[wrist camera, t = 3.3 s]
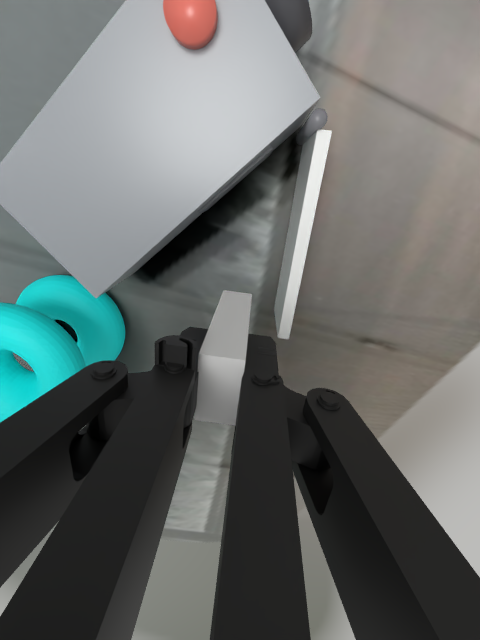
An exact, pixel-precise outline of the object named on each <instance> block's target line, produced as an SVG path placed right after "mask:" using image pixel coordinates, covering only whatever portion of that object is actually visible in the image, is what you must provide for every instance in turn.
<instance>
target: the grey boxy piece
mask: <svg viewBox="0 0 480 640" xmlns="http://www.w3.org/2000/svg"><path fill="white" fill-rule="evenodd" d="M311 34H312V18H311V12H310V7H309V2H308V0H126V1H125V2H124V3H123V5H122V6H121V7H120V8H119V10H118V11H117V12H116V14H115V15H114V16H113V18H112V19H111V20H110V21H109V23H108V24H107V25H106V27H105V28H104V29H103V31H102V32H101V33H100V34H99V36H98V37H97V38H96V40H95V41H94V42H93V44H92V45H91V46H90V47H89V49H88V50H87V51H86V53H85V54H84V55H83V56H82V58H81V59H80V60H79V62H78V63H77V64H76V66H75V67H74V68H73V69H72V71H71V72H70V73H69V75H68V76H67V77H66V79H65V80H64V81H63V82H62V84H61V85H60V86H59V88H58V89H57V90H56V92H55V93H54V94H53V95H52V97H51V98H50V99H49V101H48V102H47V103H46V105H45V106H44V107H43V108H42V110H41V111H40V112H39V114H38V115H37V116H36V118H35V119H34V120H33V121H32V123H31V124H30V125H29V127H28V128H27V129H26V131H25V132H24V133H23V134H22V136H21V137H20V138H19V140H18V141H17V142H16V144H15V145H14V146H13V147H12V149H11V150H10V151H9V153H8V154H7V155H6V156H5V158H4V159H3V160H2V162H1V163H0V205H2V206H3V207H4V208H5V209H6V210H7V211H8V212H9V213H10V214H11V215H12V216H13V217H14V218H15V219H16V220H17V221H18V222H19V223H20V224H21V225H22V226H23V227H24V228H25V229H26V230H27V231H28V232H29V233H30V234H31V235H32V236H33V237H34V238H35V239H36V240H37V241H38V242H39V243H40V244H41V245H42V246H43V247H44V248H45V249H46V250H47V251H48V252H49V253H50V254H51V255H52V256H53V257H54V258H55V259H56V260H57V261H58V262H59V263H60V264H61V265H62V266H63V267H64V268H65V269H66V270H67V271H68V272H69V273H70V274H71V275H72V276H74V277H75V278H76V279H77V280H78V281H79V282H80V283H81V284H82V285H83V286H84V287H85V288H86V289H87V290H88V291H89V292H90V293H91V294H92V295H93V296H94V297H95V298H98V297H99V296H101V295H102V294H104V293H105V292H107V291H108V290H110V289H111V288H113V287H114V286H116V285H117V284H119V283H120V282H122V281H123V280H125V279H126V278H127V277H129V276H130V275H132V274H133V273H135V272H136V271H137V270H138V269H139V268H141V267H142V266H143V265H144V264H145V263H146V262H147V261H149V260H150V259H151V258H152V257H153V256H154V255H155V254H156V253H158V252H159V251H160V250H161V249H162V248H163V247H164V246H166V245H167V244H168V243H169V242H170V241H171V240H172V239H173V238H175V237H176V236H177V235H178V234H179V233H180V232H181V231H183V230H184V229H185V228H186V227H187V226H188V225H189V224H190V223H192V222H193V221H194V220H195V219H196V218H197V217H198V216H200V215H201V214H202V213H203V212H205V211H207V210H208V209H209V208H210V207H212V206H213V205H214V204H215V203H216V202H217V201H218V200H219V199H221V198H222V197H223V196H224V195H225V194H226V193H227V192H229V191H230V190H231V189H232V188H233V187H234V186H235V185H236V184H238V183H239V182H240V181H241V180H242V179H243V178H244V177H246V176H247V175H248V174H249V173H250V172H251V171H252V170H254V169H255V168H256V167H257V166H258V165H259V164H260V163H261V162H263V161H264V160H265V159H266V158H267V157H268V156H269V155H271V153H272V151H273V150H274V149H275V148H277V147H278V146H279V145H280V144H281V143H282V142H283V141H285V140H286V139H287V138H288V137H289V136H290V135H291V134H292V133H294V132H295V131H296V130H297V129H298V128H299V127H300V126H302V124H303V123H304V121H305V120H306V118H307V117H308V115H309V114H310V112H311V111H312V109H313V108H314V106H315V105H316V103H317V102H318V101H319V99H320V96H319V94H318V93H317V91H316V89H315V87H314V86H313V84H312V82H311V80H310V79H309V77H308V75H307V73H306V72H305V70H304V68H303V66H302V65H301V63H300V61H299V59H298V58H297V56H296V54H295V53H296V52H297V51H298V50H299V49H300V48H301V47H302V46H303V45H304V44H305V43H306V42H307V41H308V40H309V39H310V37H311Z"/></svg>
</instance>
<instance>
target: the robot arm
mask: <svg viewBox="0 0 480 640" xmlns="http://www.w3.org/2000/svg"><path fill="white" fill-rule="evenodd" d="M251 300H252V294H249V293H242V292H234V291H226V290H223V293H222V295H221V298H220V301H219V303H218V306H217V308H216V311H215V313H214V316H213V318H212V321H211V324H210V326H209V329H202V328H194V327H189V328H187V329H186V330H184V331H182V333H181V335H180V336H175V335H173V336H166V337H163V338H160V339H158V340H157V341H156V342H155V366H154V367H153V369H152V370H151V371H148V372H141V373H128V369H127V367H126V366H125V364H123V363H121V362H118V361H112V360H107V361H106V360H105V361H100V362H95V363H93V364H90V365H88V366H86V367H85V368H83V369H82V370H80V371H79V372H77V373H76V374H74V375H73V376H71V377H69V378H68V379H66V380H65V381H63V382H62V383H60V384H59V385H57V386H56V387H54V388H53V389H51V390H50V391H48V392H46V393H45V394H43V395H42V396H40V397H39V398H37V399H36V400H34V401H33V402H31V403H30V404H28V405H27V406H25V407H23V408H22V409H20V410H19V411H17V412H16V413H14V414H13V415H11V416H10V417H8V418H7V419H5V420H4V421H2V422H0V587H1V586H2V585H3V584H4V582H5V581H6V580H7V579H8V578H9V577H10V576H11V575H12V573H13V572H14V571H15V570H16V569H17V568H18V567H19V565H20V564H21V563H22V562H23V561H24V560H25V559H26V558H27V556H28V555H29V554H30V553H31V552H32V551H33V549H34V548H35V547H36V546H37V545H38V544H39V543H40V542H41V540H42V539H43V538H44V537H45V536H46V535H47V534H48V532H49V531H50V530H51V529H52V528H53V527H54V526H55V525H56V523H57V522H58V521H59V522H58V524H57V525H56V527H55V528H54V530H53V532H52V533H51V535H50V537H49V538H48V540H47V541H46V543H45V545H44V546H43V548H42V550H41V551H40V553H39V555H38V556H37V558H36V560H35V561H34V563H33V564H32V566H31V568H30V569H29V571H28V573H27V574H26V576H25V577H24V579H23V581H22V582H21V584H20V586H19V587H18V589H17V590H16V592H15V594H14V595H13V597H12V599H11V600H10V602H9V603H8V605H7V607H6V608H5V610H4V612H3V613H2V615H1V616H0V640H131V638H132V634H133V631H134V628H135V624H136V621H137V617H138V614H139V610H140V607H141V603H142V600H143V596H144V593H145V590H146V586H147V583H148V579H149V576H150V572H151V569H152V566H153V562H154V559H155V555H156V552H157V548H158V545H159V541H160V538H161V535H162V531H163V528H164V524H165V521H166V517H167V514H168V511H169V507H170V504H171V500H172V497H173V493H174V490H175V486H176V483H177V480H178V476H179V473H180V469H181V466H182V462H183V459H184V455H185V452H186V449H187V445H188V442H189V438H190V435H191V430H192V419H193V416H194V413H195V416H194V420H196V421H204V422H211V423H218V424H225V425H232V426H235V432H234V439H233V446H232V453H231V454H232V456H231V465H230V473H229V481H228V490H227V498H226V507H225V515H224V524H223V532H222V540H221V549H220V557H219V566H218V574H217V583H216V592H215V599H214V608H213V616H212V625H211V634H210V640H311V639H310V630H309V620H308V612H307V602H306V592H305V584H304V573H303V564H302V555H301V545H300V536H299V526H298V517H297V508H296V498H295V489H294V479H293V472H294V475H295V477H296V480H297V483H298V486H299V488H300V491H301V494H302V496H303V499H304V502H305V504H306V507H307V510H308V512H309V515H310V518H311V520H312V523H313V526H314V528H315V531H316V534H317V537H318V539H319V542H320V545H321V547H322V549H323V553H324V555H325V558H326V561H327V563H328V566H329V569H330V571H331V574H332V577H333V579H334V582H335V585H336V587H337V590H338V593H339V596H340V598H341V600H342V604H343V606H344V609H345V612H346V614H347V617H348V620H349V622H350V625H351V628H352V630H353V633H354V636H355V638H356V640H480V577H479V576H478V575H477V573H476V572H475V571H474V570H473V568H472V567H471V566H470V564H469V563H468V561H467V560H466V559H465V557H464V556H463V555H462V553H461V552H460V551H459V549H458V548H457V547H456V545H455V544H454V543H453V541H452V540H451V538H450V537H449V536H448V534H447V533H446V532H445V530H444V529H443V528H442V526H441V525H440V524H439V522H438V521H437V520H436V518H435V517H434V516H433V514H432V513H431V512H430V510H429V509H428V508H427V506H426V505H425V504H424V502H423V501H422V499H421V498H420V497H419V496H418V494H417V493H416V491H415V490H414V489H413V487H412V486H411V485H410V483H409V482H408V481H407V479H406V478H405V477H404V475H403V474H402V473H401V471H400V470H399V469H398V467H397V466H396V465H395V463H394V462H393V461H392V459H391V458H390V457H389V455H388V454H387V453H386V451H385V450H384V449H383V447H382V446H381V445H380V443H379V442H378V440H377V439H376V438H375V436H374V435H373V434H372V432H371V431H370V430H369V428H368V427H367V426H366V424H365V423H364V422H363V420H362V419H361V417H360V416H359V415H358V413H357V412H356V411H355V409H354V408H353V407H352V405H351V404H350V403H349V401H348V400H347V399H346V398H345V397H344V396H342V395H341V394H339V393H337V392H335V391H333V390H330V389H325V388H316V389H312V390H310V391H309V392H308V393H307V396H304V395H301V394H299V393H296V392H294V391H291V390H290V389H288V388H287V387H285V386H284V385H283V381H282V378H281V377H280V376H279V375H278V364H277V353H276V343H275V342H274V341H273V339H272V338H271V337H268V336H260V335H253V334H248V331H249V321H250V310H251ZM85 425H86V426H85ZM84 426H85V427H84ZM83 427H84V428H83ZM82 428H83V429H82ZM81 429H82V430H81ZM78 431H79V432H78ZM292 469H293V470H292Z"/></svg>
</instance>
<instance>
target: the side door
mask: <svg viewBox="0 0 480 640" xmlns="http://www.w3.org/2000/svg"><path fill="white" fill-rule="evenodd" d="M326 122H327V113H326V111H325V110H324V109H321V108H318V109H316V110H314V111H313V112H312V114H311V115H310V117H309V118H308V119H307V121H306V122H305V124H304V125H303V127H302V128H301V129H300V131H299V132H298V134H297V135H296V142H297V144H299V145H303V147H302V152H301V158H300V164H299V169H298V175H297V181H296V187H295V192H294V198H293V204H292V209H291V215H290V221H289V226H288V232H287V238H286V243H285V249H284V255H283V261H282V266H281V272H280V278H279V283H278V289H277V295H276V300H275V306H274V314H275V321H276V328H277V335H278V338H283V339H289V336H290V331H291V326H292V321H293V316H294V311H295V307H296V302H297V297H298V292H299V287H300V283H301V278H302V273H303V268H304V263H305V258H306V254H307V249H308V244H309V239H310V234H311V230H312V225H313V220H314V215H315V210H316V205H317V201H318V196H319V191H320V186H321V181H322V177H323V172H324V167H325V162H326V157H327V152H328V148H329V143H330V138H331V133H332V131H329V130H321V128H322V127H323V126H324V125H325V124H326Z"/></svg>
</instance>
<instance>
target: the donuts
mask: <svg viewBox="0 0 480 640" xmlns="http://www.w3.org/2000/svg"><path fill="white" fill-rule="evenodd" d="M55 320H62V321H64V322H66V323H67V324H69V325H70V326H71V327H72V328H73V329H74V331H75V332H76V334H77V338H78V341H77V342H75V341H74V340H73V338H72V337H71V336H70V335H69V333H68V332H67V331H66V330H65V329H64V328H63V327H61V326H60V325H59V324H58V323H56V322H55ZM124 341H125V325H124V321H123V318H122V315H121V313H120V311H119V309H118V307H117V305H116V304H115V303H114V301H113V300H112V299H111V298H110V297H109V296H108V295H107V294H106V293H104V294H102V295H101V296H99V297H98V298H95V297H94V296H93V295H92V294H91V293H90V292H89V291H88V290H87V289H86V288H85V287H84V286H83V285H82V284H81V283H80V282H79V281H78V280H77V279H76V278H75V277H74V276H69V275H52V276H47V277H44V278H41V279H38V280H36V281H34V282H33V283H31V284H30V285H29V286H27V287H26V288H25V289H24V290H23V291H22V293H21V294H20V296H19V298H18V300H17V302H16V304H11V303H0V422H2V421H4V420H5V419H7V418H8V417H10V416H11V415H13V414H14V413H16V412H17V411H19V410H20V409H22V408H23V407H25V406H27V405H28V404H30V403H31V402H33V401H34V400H36V399H37V398H39V397H40V396H42V395H43V394H45V393H46V392H48V391H50V390H51V389H53V388H54V387H56V386H57V385H59V384H60V383H62V382H63V381H65V380H66V379H68V378H69V377H71V376H73V375H74V374H76V373H77V372H79V371H80V370H82V369H83V368H85V367H86V366H88V365H90V364H93V363H95V362H100V361H105V360H106V361H107V360H112V361H114V360H115V359H116V358H117V357H118V355H119V354H120V352H121V350H122V348H123V345H124ZM13 352H14V353H15V354H17V355H19V356H20V357H22V358H23V359H24V360H25V361H26V362H28V364H29V365H30V366H31V367H32V368H33V370H34V372H32V371H29V370H27V369H25V368H24V367H22V366H21V365H20V364H19V363H18V362H17V360H16V359H15V357H14V355H13Z"/></svg>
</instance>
